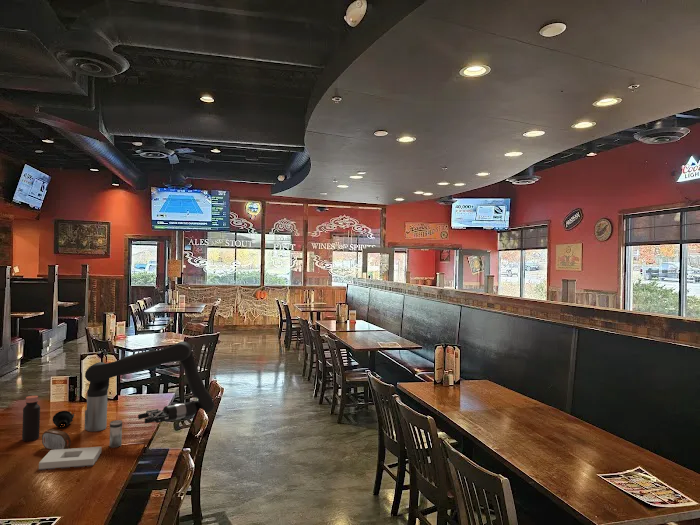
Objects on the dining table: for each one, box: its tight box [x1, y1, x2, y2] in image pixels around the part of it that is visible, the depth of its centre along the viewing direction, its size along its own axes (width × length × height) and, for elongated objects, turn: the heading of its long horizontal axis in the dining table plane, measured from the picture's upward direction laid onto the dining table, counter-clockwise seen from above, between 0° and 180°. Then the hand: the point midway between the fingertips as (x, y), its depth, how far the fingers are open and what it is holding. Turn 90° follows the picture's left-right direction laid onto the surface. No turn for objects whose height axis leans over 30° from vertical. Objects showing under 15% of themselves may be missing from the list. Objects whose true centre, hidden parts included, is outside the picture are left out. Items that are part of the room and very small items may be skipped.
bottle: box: [21, 395, 41, 442], centre depth 228 cm, size 7×7×20 cm
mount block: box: [38, 446, 102, 471], centre depth 203 cm, size 20×14×3 cm
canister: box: [108, 419, 123, 449], centre depth 222 cm, size 5×5×11 cm
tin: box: [41, 428, 72, 450], centre depth 216 cm, size 15×3×8 cm, turn 71°
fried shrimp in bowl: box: [52, 410, 75, 429], centre depth 249 cm, size 9×11×18 cm
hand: (141, 418), depth 230 cm, fingers open, 8 cm apart
